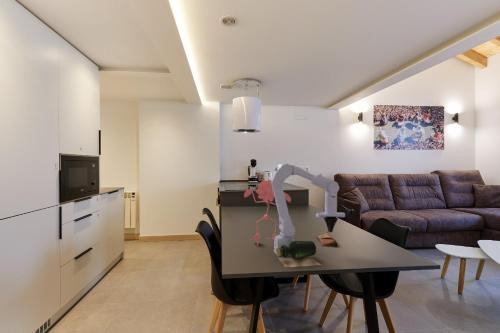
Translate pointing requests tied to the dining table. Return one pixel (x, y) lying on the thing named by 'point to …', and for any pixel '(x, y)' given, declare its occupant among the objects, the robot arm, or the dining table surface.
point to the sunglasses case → (327, 240)
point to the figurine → (265, 194)
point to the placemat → (298, 262)
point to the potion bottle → (297, 249)
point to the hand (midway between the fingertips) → (330, 231)
